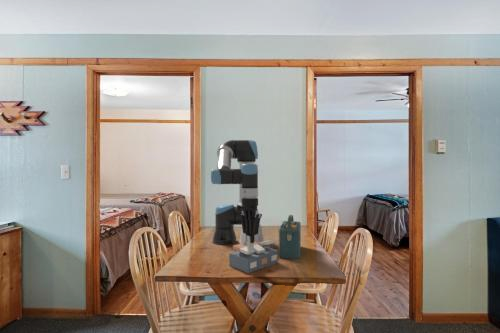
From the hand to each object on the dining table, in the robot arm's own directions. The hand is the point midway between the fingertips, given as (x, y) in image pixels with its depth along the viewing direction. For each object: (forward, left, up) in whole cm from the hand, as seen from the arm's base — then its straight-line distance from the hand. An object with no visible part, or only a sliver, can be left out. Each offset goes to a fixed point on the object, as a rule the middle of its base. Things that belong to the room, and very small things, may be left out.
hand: (250, 249), depth 122 cm
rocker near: (-5, 0, -2) cm, 5 cm away
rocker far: (-5, +14, -2) cm, 15 cm away
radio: (-5, +36, -10) cm, 38 cm away
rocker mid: (-5, +7, -2) cm, 9 cm away
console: (-5, +7, -9) cm, 13 cm away
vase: (-21, +21, -10) cm, 31 cm away
